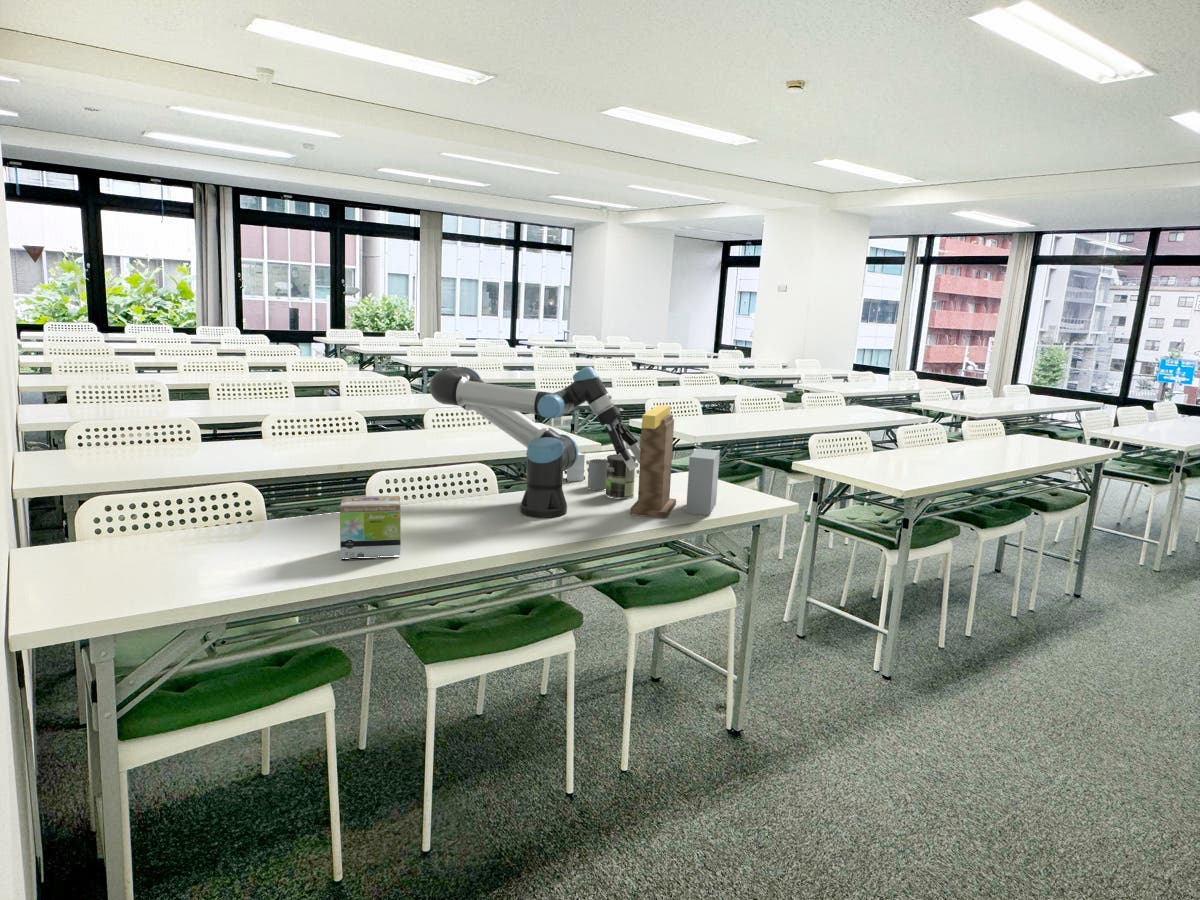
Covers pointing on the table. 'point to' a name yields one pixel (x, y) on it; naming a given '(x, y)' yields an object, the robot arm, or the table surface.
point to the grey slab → (702, 481)
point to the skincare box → (576, 469)
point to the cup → (597, 474)
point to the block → (655, 416)
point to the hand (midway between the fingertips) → (638, 465)
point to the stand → (655, 471)
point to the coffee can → (619, 478)
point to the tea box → (370, 526)
